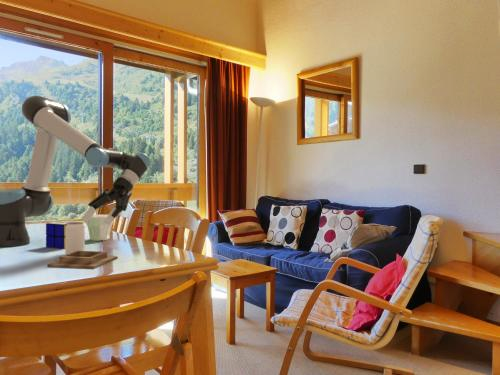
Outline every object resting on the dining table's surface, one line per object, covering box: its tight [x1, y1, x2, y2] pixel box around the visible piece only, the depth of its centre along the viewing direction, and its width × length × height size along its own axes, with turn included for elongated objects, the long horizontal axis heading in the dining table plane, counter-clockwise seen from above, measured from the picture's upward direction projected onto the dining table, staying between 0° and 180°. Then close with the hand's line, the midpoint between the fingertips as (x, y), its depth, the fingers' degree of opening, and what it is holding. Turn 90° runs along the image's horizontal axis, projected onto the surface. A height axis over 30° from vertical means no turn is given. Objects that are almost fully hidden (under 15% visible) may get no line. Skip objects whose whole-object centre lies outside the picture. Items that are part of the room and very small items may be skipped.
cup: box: [85, 214, 114, 242], centre depth 182 cm, size 12×12×11 cm
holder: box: [47, 250, 119, 269], centre depth 133 cm, size 16×16×3 cm
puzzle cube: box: [45, 220, 74, 250], centre depth 163 cm, size 10×10×10 cm
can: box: [64, 221, 86, 255], centre depth 145 cm, size 6×6×12 cm
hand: (94, 222), depth 150 cm, fingers open, 13 cm apart
